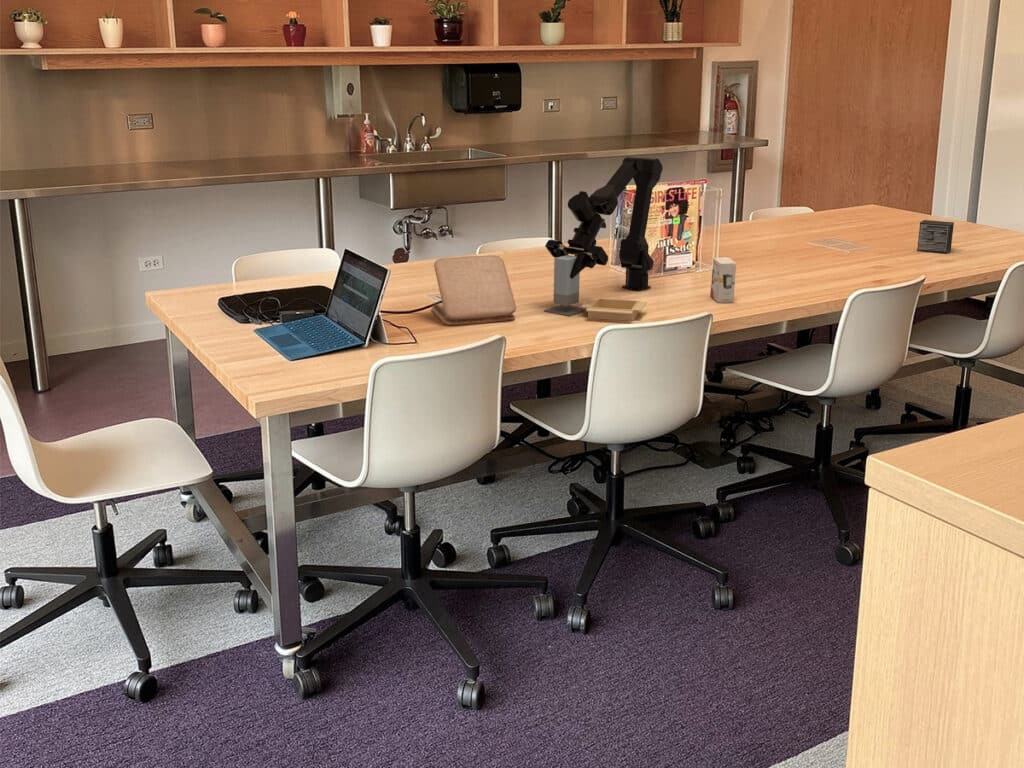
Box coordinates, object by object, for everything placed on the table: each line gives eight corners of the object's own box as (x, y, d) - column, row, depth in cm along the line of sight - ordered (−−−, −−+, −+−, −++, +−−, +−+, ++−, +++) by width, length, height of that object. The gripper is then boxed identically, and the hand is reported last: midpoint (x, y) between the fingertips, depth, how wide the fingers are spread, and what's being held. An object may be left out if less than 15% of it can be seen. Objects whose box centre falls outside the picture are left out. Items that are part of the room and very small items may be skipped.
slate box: (566, 299, 320) (567, 255, 316) (578, 302, 317) (580, 257, 313) (553, 303, 315) (554, 258, 312) (566, 305, 313) (567, 260, 309)
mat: (563, 305, 323) (563, 304, 323) (588, 310, 318) (588, 308, 317) (544, 311, 316) (544, 310, 316) (569, 316, 311) (569, 315, 311)
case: (445, 328, 301) (444, 269, 296) (429, 309, 320) (428, 254, 315) (518, 322, 307) (518, 265, 302) (497, 304, 326) (497, 250, 321)
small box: (951, 251, 395) (955, 221, 392) (947, 254, 390) (951, 224, 387) (920, 248, 401) (923, 219, 397) (916, 251, 395) (919, 221, 392)
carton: (592, 304, 323) (592, 295, 322) (649, 308, 319) (649, 298, 318) (578, 319, 307) (578, 309, 306) (638, 324, 303) (638, 313, 302)
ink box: (709, 296, 333) (711, 257, 329) (726, 295, 333) (728, 256, 330) (717, 303, 325) (719, 263, 321) (734, 302, 325) (737, 262, 321)
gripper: (625, 252, 318) (602, 297, 313) (572, 244, 329) (549, 288, 325) (610, 228, 310) (586, 275, 305) (556, 221, 321) (532, 266, 316)
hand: (564, 276), depth 313 cm, fingers closed on slate box, 4 cm apart
